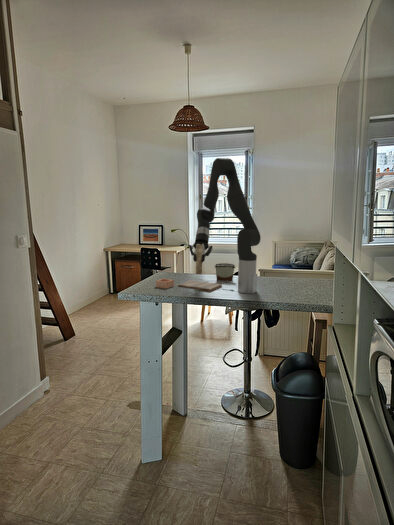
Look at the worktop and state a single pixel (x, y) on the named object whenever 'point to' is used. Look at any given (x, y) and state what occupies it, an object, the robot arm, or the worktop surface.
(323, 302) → the worktop surface
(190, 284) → the walnut board
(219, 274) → the food container
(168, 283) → the terracotta cup
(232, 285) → the worktop surface
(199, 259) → the birch dowel
